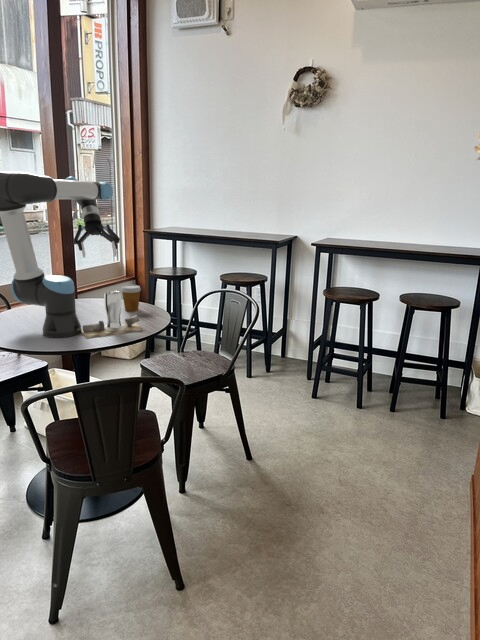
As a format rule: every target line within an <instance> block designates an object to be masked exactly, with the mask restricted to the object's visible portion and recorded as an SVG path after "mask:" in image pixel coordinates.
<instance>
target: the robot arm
mask: <svg viewBox="0 0 480 640" xmlns="http://www.w3.org/2000/svg"><path fill="white" fill-rule="evenodd" d="M113 194H114V189H113V186H112V184H111V183H109V182H105V181H90V180H89V181H88V180H87V181H85V180H79V179H78V178H76V177H75V176H68V177H66V178H65V179H56V178H55V179H54V178H53V177H51V176H48V175H39V174H35V173H30V172H24V171H0V221H1V225H2V227H3V231H4V234H5V238H6V242H7V244H8V248H9V251H10V255H11V258H12V262H13V266H14V269H15V273H14V275H13V279H12V281H11V285H10V292H11V295H12V297H13V298H14V299H15V300H16V301H17V302H19V303H21V304H24V305H25V304H26V305H31V306H40V307H44V308H45V309H44V310H45V319H44V321H43V326H42V335H43V336H45V337H48V338H61V339H62V338H67V337H68V338H69V337H73V336H77V335H79V334H81V329H82V325H81V323H80V320H79V317H78V315H77V310H76V309H77V308H76V307H77V306H76V291H75V290H76V289H75V285H74V284H75V283H74V281H73V279H72V278H70V277H69V276H66V275H60V274H57V275H56V274H50V275H45V273H44V270H43V269H42V268H40V267H39V266H38V261H37V258H36V254H35V250H34V246H33V242H32V238H31V235H30V231H29V227H28V223H27V220H26V216H25V213H24V210H25V209H26V207H27V205H32V204H38V203H51V202H53V201H55V200H74V201H75V202H76V203H77V204H78V205H79V207H80V209H81V213H82V215H81V216H82V219H83V224H84V225H81V224H78V226H77V231H76V234H75V236H74V238H73V245H77V246H78V251H80V252H81V253H82V258H84V259H85V258H86V250H85V245H84V242H85V240H86V239H88V238H89V236H100V237H103V238H105V239H106V240H107V241H109V242H110V243H111V248H112V252H113V256H114V257H116V256H117V255H118V254H117V253H118V252H117V250H118V244H119V243H120V240H121V238H120V237H119V236H118V235H117V233H116V232H115V231H114V230H112V228H111V226H110V224H108V223H107V224H106V225H103V224H102V219H101V217H100V210H99V207H98V203H97V200H100V201H102V200H103V201H107V200H108V201H109V200H111V199H112V198H113ZM83 231H85V232H84V233H83V234H82V236H80V235H81V232H83Z"/></svg>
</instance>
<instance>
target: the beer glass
mask: <svg viewBox="0 0 480 640" xmlns="http://www.w3.org/2000/svg"><path fill="white" fill-rule="evenodd" d="M121 294H122V293H121V291H119V290H118V291H117V290H109V291H105V292H104V293H103V295H104V296H103V297H104V298H103V299H104V301H103V303H104V310H105V314H106V325H107V328H109V329H117V328H120V327H121V324H122V323H121V313H122V295H121Z"/></svg>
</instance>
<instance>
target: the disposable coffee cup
mask: <svg viewBox="0 0 480 640" xmlns="http://www.w3.org/2000/svg"><path fill="white" fill-rule="evenodd" d="M120 289H121V292H122V293H121V294H122V299H123V306H124V310H125V312H128V313H135V312H138V311H139V306H140V305H139V304H140V295H141V290H142V288H141V286H140V285H137V284H127V285H122V286H121V288H120Z"/></svg>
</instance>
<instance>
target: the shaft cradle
mask: <svg viewBox="0 0 480 640" xmlns="http://www.w3.org/2000/svg"><path fill="white" fill-rule="evenodd" d="M124 322H125V323H121V327H120V328H117V329H109V328H107V324H106V325H105V323H104V320H99V321H98V322H97V323H91V324H83V325H82V328H81V333H80V334H81V335H82V336H83V337H85V339H88V338H96V337H105V336H111V335H117V334H125V333H132V332H139V331H141V332H142V331H143V329H144V328H143V327H142V326H140V325H139V324H137V323H138V322H140V317H139V316H138V315H137V314H134V315H133V316H131V317H127V318H126V317H125V319H124Z"/></svg>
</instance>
